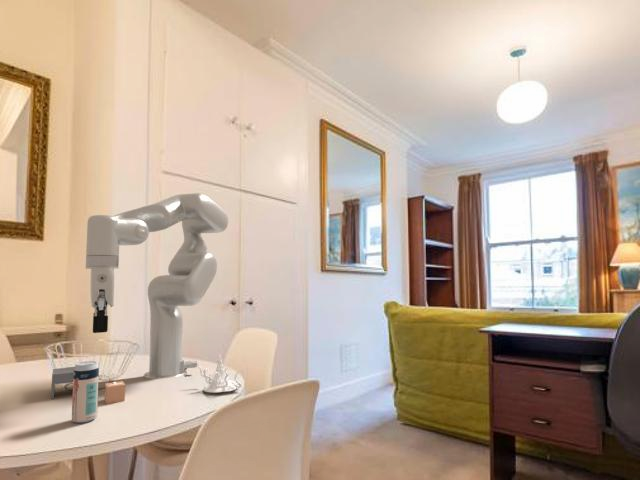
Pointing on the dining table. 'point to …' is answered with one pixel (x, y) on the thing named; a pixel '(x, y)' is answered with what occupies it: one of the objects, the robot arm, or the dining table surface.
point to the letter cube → (114, 392)
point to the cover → (61, 377)
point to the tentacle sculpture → (219, 379)
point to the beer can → (85, 392)
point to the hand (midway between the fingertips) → (100, 329)
